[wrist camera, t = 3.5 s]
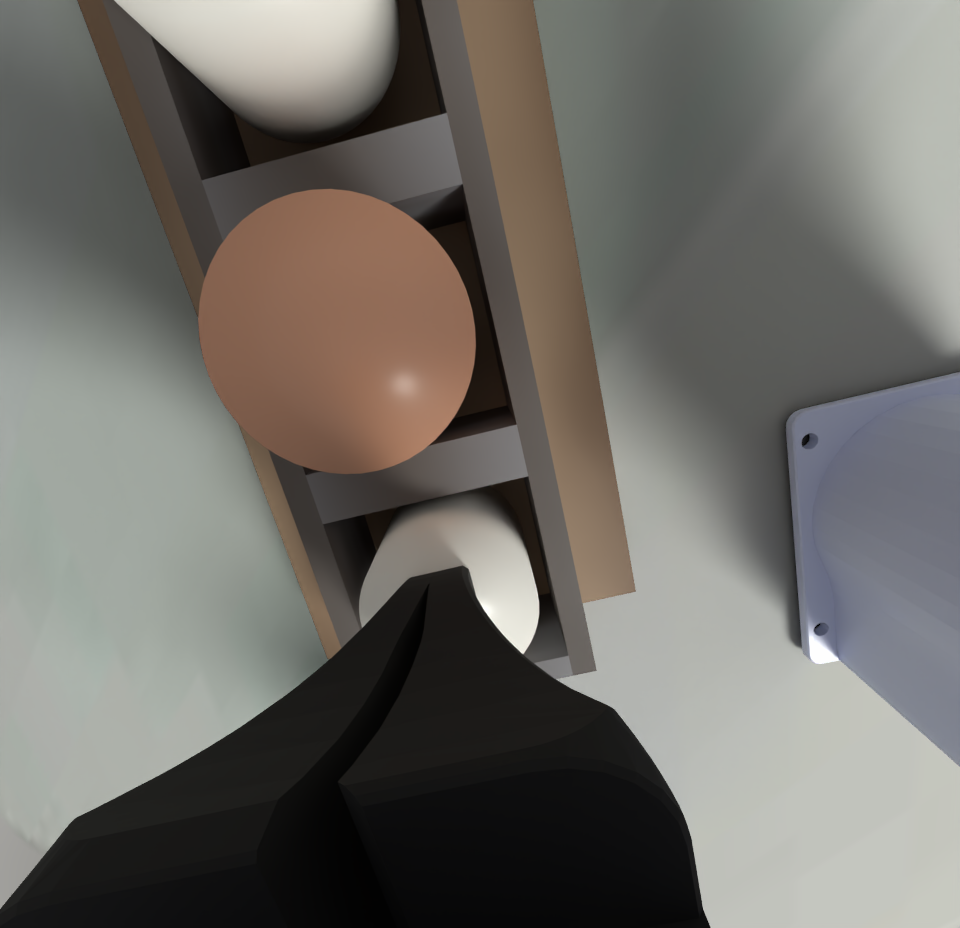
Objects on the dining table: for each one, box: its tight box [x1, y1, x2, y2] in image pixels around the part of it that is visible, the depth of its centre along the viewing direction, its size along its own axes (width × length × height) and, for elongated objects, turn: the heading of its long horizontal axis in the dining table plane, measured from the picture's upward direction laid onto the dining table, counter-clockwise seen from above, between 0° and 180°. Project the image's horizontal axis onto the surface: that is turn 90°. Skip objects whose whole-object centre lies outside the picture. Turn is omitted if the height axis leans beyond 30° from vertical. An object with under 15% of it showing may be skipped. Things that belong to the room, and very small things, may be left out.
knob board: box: [77, 0, 636, 679], centre depth 12 cm, size 10×18×5 cm, turn 14°
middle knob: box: [198, 189, 476, 474], centre depth 9 cm, size 4×4×4 cm
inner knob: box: [359, 486, 539, 654], centre depth 12 cm, size 4×4×4 cm
